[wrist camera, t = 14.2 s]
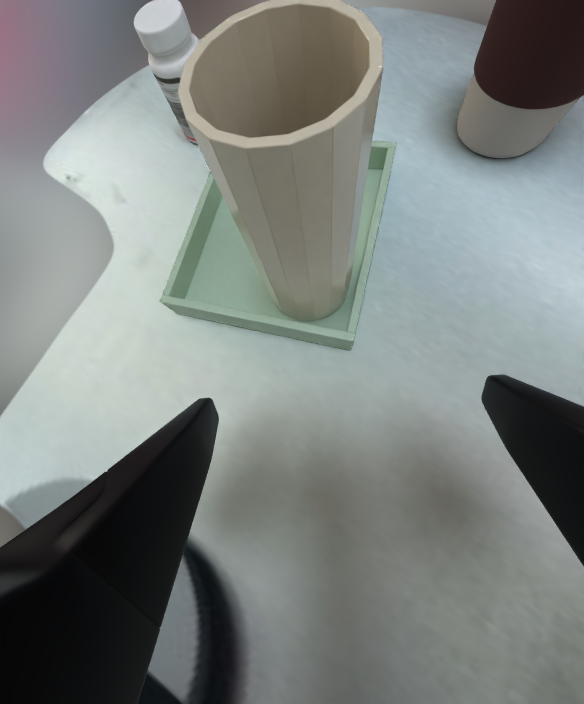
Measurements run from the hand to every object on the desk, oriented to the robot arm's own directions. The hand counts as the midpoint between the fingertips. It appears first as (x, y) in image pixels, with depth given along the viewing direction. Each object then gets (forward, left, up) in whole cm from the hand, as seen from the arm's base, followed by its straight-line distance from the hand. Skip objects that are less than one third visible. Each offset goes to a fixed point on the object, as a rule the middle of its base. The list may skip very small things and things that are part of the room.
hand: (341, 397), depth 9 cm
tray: (+13, +7, -11) cm, 19 cm away
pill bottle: (+25, +19, -11) cm, 34 cm away
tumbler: (+9, +4, -11) cm, 15 cm away
